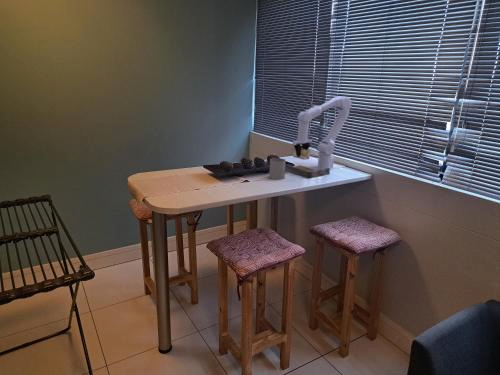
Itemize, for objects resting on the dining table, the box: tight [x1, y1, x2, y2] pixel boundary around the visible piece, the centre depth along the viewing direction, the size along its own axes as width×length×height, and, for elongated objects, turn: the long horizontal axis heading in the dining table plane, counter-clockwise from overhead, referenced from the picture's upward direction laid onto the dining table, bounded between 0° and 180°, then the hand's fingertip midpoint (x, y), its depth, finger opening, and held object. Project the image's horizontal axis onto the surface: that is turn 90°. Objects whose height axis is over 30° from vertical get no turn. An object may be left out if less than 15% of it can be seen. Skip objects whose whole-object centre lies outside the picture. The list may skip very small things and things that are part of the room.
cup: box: [268, 157, 286, 181], centre depth 188 cm, size 8×8×10 cm
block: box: [292, 147, 311, 161], centre depth 204 cm, size 4×9×5 cm, turn 39°
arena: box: [285, 163, 331, 179], centre depth 201 cm, size 17×23×4 cm
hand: (301, 155), depth 204 cm, fingers closed on block, 4 cm apart
